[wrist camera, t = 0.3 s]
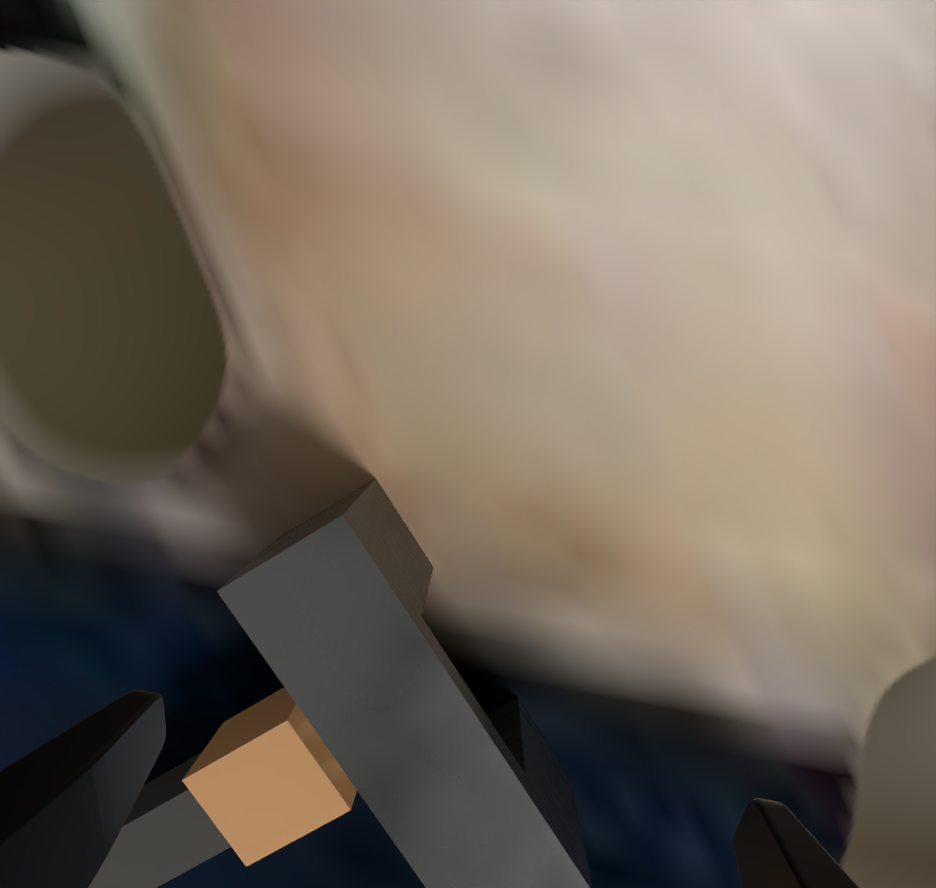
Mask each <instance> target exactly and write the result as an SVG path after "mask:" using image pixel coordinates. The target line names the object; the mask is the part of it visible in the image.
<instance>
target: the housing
mask: <svg viewBox="0 0 936 888" xmlns="http://www.w3.org/2000/svg"><path fill="white" fill-rule="evenodd" d="M432 571H433V566H432V565H431V563H430V562H429V560H428V558H427V557H426V555H425V554H424V552H423V551H422V549H421V548H420V546H419V545H418V543H417V542H416V540H415V538H414V537H413V535H412V534H411V532H410V531H409V529H408V528H407V526H406V525H405V523H404V522H403V520H402V518H401V517H400V515H399V514H398V512H397V511H396V509H395V508H394V506H393V505H392V503H391V501H390V500H389V498H388V497H387V495H386V494H385V492H384V491H383V489H382V488H381V486H380V485H379V483H378V481H377V480H376V479H375V480H373V481H371V482H370V483H368V484H366V485H365V486H363V487H361V488H360V489H358V490H357V491H355V492H353V493H352V494H350V495H348V496H347V497H345V498H343V499H342V500H340V501H339V502H337V503H335V504H334V505H332V506H330V507H329V508H327V509H325V510H324V511H322V512H321V513H319V514H317V515H316V516H314V517H312V518H311V519H309V520H307V521H306V522H304V523H303V524H301V525H299V526H298V527H296V528H294V529H293V530H291V531H289V532H288V533H286V534H285V535H283V536H281V537H280V538H278V539H277V540H276V541H274V542H273V543H272V544H271V545H270V546H269V547H268V548H266V549H265V550H264V551H263V552H262V553H261V554H259V555H258V556H257V557H256V558H255V559H254V560H253V561H251V562H250V563H249V564H248V565H247V566H246V567H244V568H243V569H242V570H241V571H240V572H239V573H238V574H236V575H235V576H234V577H233V578H232V579H231V580H229V581H228V582H227V583H226V584H225V585H224V586H222V587H221V588H220V589H219V590H218V591H217V592H218V593H219V595H220V596H221V598H222V599H223V601H224V602H225V603H226V605H227V606H228V608H229V609H230V610H231V612H232V613H233V615H234V616H235V618H236V619H237V620H238V622H239V623H240V625H241V626H242V627H243V629H244V630H245V632H246V633H247V635H248V636H249V637H250V639H251V640H252V642H253V643H254V645H255V646H256V647H257V649H258V650H259V652H260V653H261V654H262V656H263V657H264V659H265V660H266V662H267V663H268V664H269V666H270V667H271V669H272V670H273V671H274V673H275V674H276V676H277V677H278V679H279V680H280V681H281V683H282V684H283V686H284V687H285V688H286V690H287V691H288V693H289V694H290V696H291V697H292V698H293V700H294V701H295V703H296V704H297V705H298V707H299V708H300V710H301V711H302V713H303V714H304V715H305V717H306V718H307V720H308V721H309V723H310V724H311V725H312V727H313V728H314V730H315V731H316V732H317V734H318V735H319V737H320V738H321V740H322V741H323V742H324V744H325V745H326V747H327V748H328V749H329V751H330V752H331V754H332V755H333V757H334V758H335V759H336V761H337V762H338V764H339V765H340V766H341V768H342V769H343V771H344V772H345V774H346V775H347V776H348V778H349V779H350V781H351V782H352V783H353V785H354V786H355V788H356V789H357V791H358V792H359V793H360V795H361V796H362V798H363V799H364V800H365V802H366V803H367V805H368V806H369V808H370V809H371V810H372V812H373V813H374V815H375V816H376V818H377V819H378V820H379V822H380V823H381V825H382V826H383V827H384V829H385V830H386V832H387V833H388V835H389V836H390V837H391V839H392V840H393V842H394V843H395V844H396V846H397V847H398V849H399V850H400V852H401V853H402V854H403V856H404V857H405V859H406V860H407V861H408V863H409V864H410V866H411V867H412V869H413V870H414V871H415V873H416V874H417V876H418V877H419V878H420V880H421V881H422V883H423V884H424V886H425V887H426V888H592V884H591V879H590V874H589V869H588V864H587V859H586V854H585V849H584V844H583V839H582V834H581V829H580V824H579V819H578V815H577V810H576V805H575V800H574V795H573V790H572V785H571V780H570V777H569V776H568V774H567V773H566V771H565V769H564V768H563V766H562V765H561V763H560V762H559V760H558V759H557V757H556V756H555V754H554V752H553V751H552V749H551V748H550V746H549V745H548V743H547V742H546V740H545V739H544V737H543V736H542V734H541V732H540V731H539V729H538V728H537V726H536V725H535V723H534V722H533V720H532V719H531V717H530V716H529V714H528V712H527V711H526V709H525V708H524V706H523V705H522V703H521V702H520V700H519V699H516V700H514V701H512V702H511V703H509V704H507V705H505V706H503V707H501V708H500V709H498V710H496V711H494V712H492V713H490V714H489V715H486V714H485V712H484V711H483V709H482V708H481V706H480V705H479V703H478V702H477V700H476V699H475V697H474V695H473V694H472V692H471V691H470V689H469V688H468V686H467V685H466V683H465V682H464V680H463V679H462V677H461V676H460V674H459V673H458V671H457V670H456V668H455V667H454V665H453V664H452V662H451V661H450V659H449V658H448V656H447V655H446V653H445V652H444V650H443V649H442V647H441V645H440V644H439V642H438V641H437V639H436V638H435V636H434V635H433V633H432V632H431V630H430V629H429V627H428V626H427V624H426V623H425V621H424V620H423V618H422V617H421V615H422V611H423V607H424V603H425V599H426V595H427V591H428V587H429V583H430V579H431V575H432Z"/></svg>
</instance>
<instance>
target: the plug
mask: <svg viewBox="0 0 936 888" xmlns="http://www.w3.org/2000/svg"><path fill="white" fill-rule="evenodd" d="M356 791H357V789H356V788H355V786H354V785H353V783H352V782H351V781H350V779H349V778H348V776H347V775H346V774H345V772H344V771H343V769H342V768H341V766H340V765H339V764H338V762H337V761H336V759H335V758H334V757H333V755H332V754H331V752H330V751H329V749H328V748H327V747H326V745H325V744H324V742H323V741H322V740H321V738H320V737H319V735H318V734H317V732H316V731H315V730H314V728H313V727H312V725H311V724H310V723H309V721H308V720H307V718H306V717H305V715H304V714H303V713H302V711H301V710H300V708H299V707H298V705H297V704H296V703H295V701H294V700H293V698H292V697H291V696H290V694H289V693H288V691H287V690H286V688H285V687H284V688H282V689H280V690H279V691H277V692H275V693H273V694H272V695H270V696H268V697H267V698H265V699H263V700H261V701H260V702H258V703H256V704H254V705H253V706H251V707H249V708H247V709H246V710H244V711H242V712H241V713H239V714H237V715H235V716H234V717H232V718H230V719H228V720H227V721H225V722H224V723H223V724H222V725H221V727H220V728H219V729H218V731H217V732H216V734H215V735H214V736H213V738H212V739H211V741H210V742H209V743H208V745H207V746H206V748H205V749H204V750H203V752H201V753H199V754H198V755H196V756H194V757H192V758H191V759H189V760H187V761H185V762H184V763H182V764H180V765H178V766H177V767H175V768H173V769H171V770H170V771H168V772H166V773H164V774H163V775H161V776H159V777H157V778H156V779H154V780H152V781H150V782H149V783H147V784H145V785H143V787H142V789H141V791H140V793H139V795H138V797H137V799H136V801H135V803H134V805H133V807H132V809H131V811H130V813H129V815H128V817H127V819H126V821H125V823H124V825H123V827H122V829H121V831H120V833H119V835H118V837H117V839H116V840H115V842H114V844H113V846H112V848H111V850H110V852H109V854H108V856H107V857H106V859H105V861H104V862H103V864H102V866H101V867H100V869H99V871H98V872H97V874H96V876H95V877H94V879H93V881H92V882H91V884H90V886H89V887H88V888H157V887H158V886H160V885H162V884H164V883H166V882H168V881H169V880H171V879H173V878H175V877H177V876H179V875H180V874H182V873H184V872H186V871H188V870H189V869H191V868H193V867H195V866H197V865H199V864H200V863H202V862H204V861H206V860H208V859H210V858H211V857H213V856H215V855H217V854H219V853H221V852H222V851H224V850H226V849H228V848H230V847H232V848H233V849H234V851H235V852H236V853H237V855H238V856H239V857H240V859H241V860H242V861H243V863H244V864H245V865H246V867H247V866H248V865H250V864H252V863H254V862H256V861H258V860H259V859H261V858H263V857H265V856H267V855H269V854H271V853H272V852H274V851H276V850H278V849H280V848H282V847H284V846H285V845H287V844H289V843H291V842H293V841H295V840H296V839H298V838H300V837H302V836H304V835H306V834H308V833H309V832H311V831H313V830H315V829H317V828H319V827H320V826H322V825H324V824H326V823H328V822H330V821H332V820H333V819H335V818H337V817H339V816H341V815H343V814H345V813H346V812H348V811H350V810H351V808H352V804H353V801H354V798H355V794H356Z"/></svg>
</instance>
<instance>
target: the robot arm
mask: <svg viewBox="0 0 936 888" xmlns="http://www.w3.org/2000/svg"><path fill="white" fill-rule="evenodd" d="M165 737H166V724H165V713H164V702H163V698H162V696H161V695H160V694H158V693H155V692H149V691H143V690H134V691H131V692H129V693H127V694H125V695H124V696H122V697H120V698H119V699H117V700H116V701H114V702H112V703H111V704H109V705H107V706H106V707H104V708H102V709H101V710H99V711H97V712H96V713H94V714H93V715H91V716H89V717H88V718H86V719H84V720H83V721H81V722H79V723H78V724H76V725H75V726H73V727H71V728H70V729H68V730H66V731H65V732H63V733H61V734H60V735H58V736H57V737H55V738H53V739H52V740H50V741H48V742H47V743H45V744H43V745H42V746H40V747H39V748H37V749H35V750H34V751H32V752H30V753H29V754H27V755H25V756H24V757H22V758H20V759H19V760H17V761H16V762H14V763H12V764H11V765H9V766H7V767H6V768H4V769H2V770H1V771H0V888H88V887H89V886H90V884H91V882H92V881H93V879H94V877H95V876H96V874H97V872H98V871H99V869H100V867H101V866H102V864H103V862H104V861H105V859H106V857H107V856H108V854H109V852H110V850H111V848H112V846H113V844H114V842H115V840H116V839H117V837H118V835H119V833H120V831H121V829H122V827H123V825H124V823H125V821H126V819H127V817H128V815H129V813H130V811H131V809H132V807H133V805H134V803H135V801H136V799H137V797H138V795H139V793H140V791H141V789H142V787H143V785H144V783H145V781H146V779H147V777H148V775H149V773H150V771H151V769H152V767H153V765H154V763H155V761H156V759H157V757H158V755H159V753H160V751H161V749H162V747H163V744H164V741H165ZM734 851H735V857H736V862H737V867H738V873H739V878H740V883H741V888H859V887H858V886H857V885H856V883H855V882H854V881H853V880H852V879H851V878H850V877H849V876H848V875H847V873H846V872H845V871H844V870H843V869H842V868H841V867H840V866H839V865H838V863H837V862H836V861H835V860H834V859H833V858H832V857H831V856H830V855H829V853H828V852H827V851H826V850H825V849H824V848H823V847H822V846H821V845H820V843H819V842H818V841H817V840H816V839H815V838H814V837H813V836H812V835H811V834H810V832H809V831H808V830H807V829H806V828H805V827H804V826H803V825H802V824H801V822H800V821H799V820H798V819H797V818H796V817H795V816H794V815H793V814H792V812H791V811H790V810H789V809H788V808H787V807H786V806H784V805H783V804H782V803H780V802H776V801H771V800H765V799H760V798H754V799H753V800H751V801H750V802H749V804H748V806H747V808H746V811H745V813H744V815H743V817H742V819H741V821H740V824H739V826H738V828H737V830H736V833H735V837H734Z"/></svg>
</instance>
